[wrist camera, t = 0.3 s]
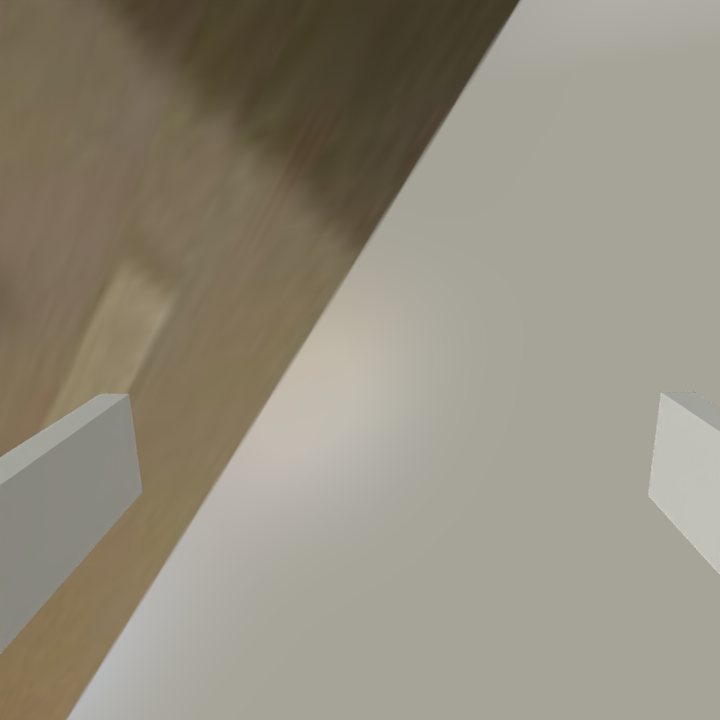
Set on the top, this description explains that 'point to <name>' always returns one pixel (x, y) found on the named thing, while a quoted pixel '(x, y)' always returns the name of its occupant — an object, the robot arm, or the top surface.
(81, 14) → the top surface
